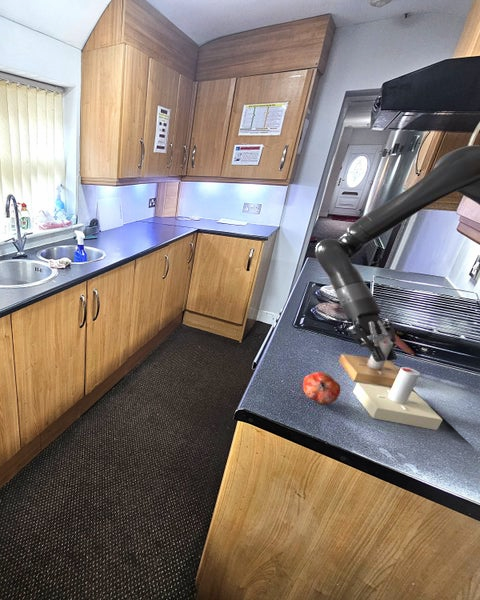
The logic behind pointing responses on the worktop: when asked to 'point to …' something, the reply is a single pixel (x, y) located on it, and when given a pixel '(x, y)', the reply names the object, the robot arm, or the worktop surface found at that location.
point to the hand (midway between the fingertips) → (386, 360)
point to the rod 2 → (403, 385)
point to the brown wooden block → (369, 371)
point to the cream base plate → (396, 407)
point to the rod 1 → (385, 348)
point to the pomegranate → (321, 388)
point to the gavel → (402, 344)
